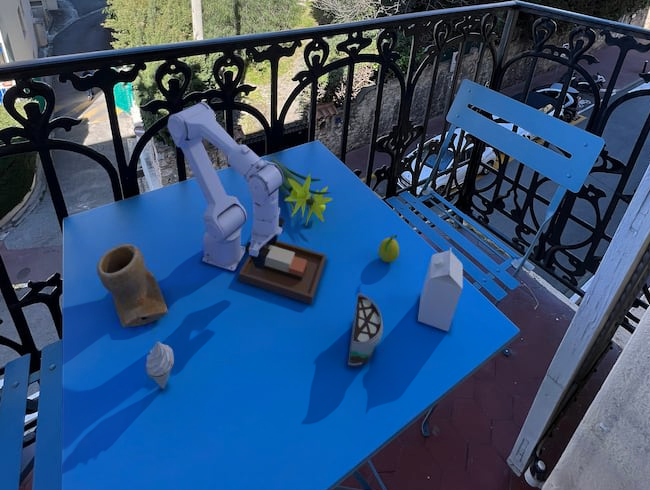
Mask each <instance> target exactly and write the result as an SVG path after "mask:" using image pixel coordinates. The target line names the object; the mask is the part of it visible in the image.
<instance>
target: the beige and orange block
mask: <svg viewBox="0 0 650 490" xmlns="http://www.w3.org/2000/svg"><path fill="white" fill-rule="evenodd" d="M268 249H270V251H269V253H268V255H267V257H266V260H265V265H264V268H263V269H266V270H269V271H272V272H275V273H278V274H282V275H285V276H288V277H291V278H294V279H297V280H302V278H303V275H304V273H305V270H306V266H307V260H305V259H302V258H298V257H295V256H294V255H295V252H292V251H288V250H285V249H282V248H278V247H275V246H272V245H270V246H269V248H268Z"/></svg>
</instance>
